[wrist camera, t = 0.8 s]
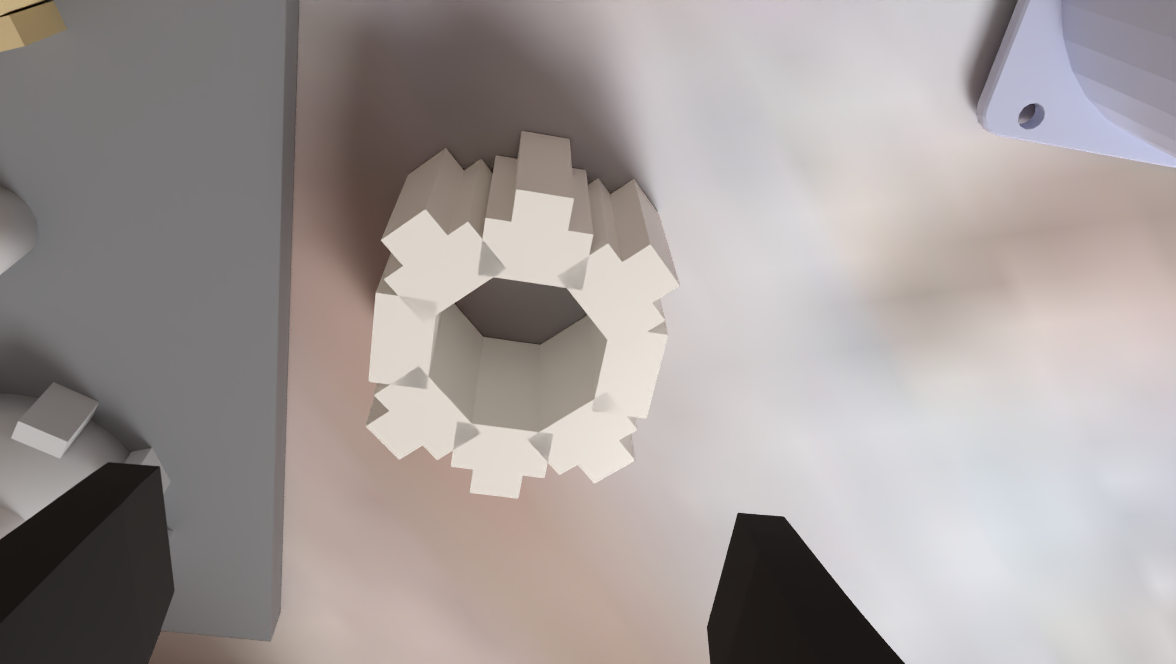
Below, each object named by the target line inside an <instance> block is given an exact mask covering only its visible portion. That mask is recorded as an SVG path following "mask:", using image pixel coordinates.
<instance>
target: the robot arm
mask: <svg viewBox="0 0 1176 664" xmlns="http://www.w3.org/2000/svg"><path fill="white" fill-rule="evenodd" d="M1029 104H1035V106H1036V108H1035V114H1034V115H1033V116H1032V118H1031V119H1030V120H1029V121H1027V122H1025V123H1023V124H1019V122H1018V118H1019V114H1020V112H1021V111H1022V109H1023V108H1024V107H1026V106H1027V105H1029ZM976 115H977V120H978V122H979V124H980V125H981V126H982V127H983V128H984V129H985V130H987V131H988V132H990V133H992V134H995V135H997V136H1002V137H1007V138H1013V139H1018V140H1024V141H1029V142H1035V143H1041V144H1046V145H1052V146H1057V147H1063V148H1068V149H1074V150H1080V151H1085V152H1091V153H1096V154H1102V155H1107V156H1113V157H1118V158H1124V159H1130V160H1135V161H1141V162H1146V163H1152V164H1157V165H1163V166H1168V167H1174V168H1176V0H1018V1H1017V4H1016V7H1015V9H1014V12H1013V14H1012V17H1011V19H1010V22H1009V25H1008V27H1007V30H1006V32H1005V35H1004V37H1003V40H1002V43H1001V45H1000V48H999V50H998V53H997V55H996V58H995V61H994V63H993V66H992V68H991V71H990V73H989V76H988V79H987V81H986V84H985V86H984V89H983V91H982V94H981V97H980V99H979V102H978V105H977V110H976ZM174 591H175V589H174V581H173V572H172V564H171V555H170V546H169V538H168V529H167V521H166V512H165V504H164V495H163V487H162V478H161V469H160V466H150V465H138V464H126V463H113V462H108V463H106V464H105V465H103V466H102V467H100V468H99V469H97V470H96V471H94V472H93V473H92V474H90V475H89V476H87V477H86V478H85V479H83V480H82V481H80V482H79V483H78V484H76V485H75V486H73V487H72V488H71V489H69V490H68V491H67V492H65V493H64V494H62V495H61V496H60V497H58V498H57V499H56V500H54V501H53V502H51V503H50V504H49V505H47V506H46V507H45V508H43V509H42V510H40V511H39V512H38V513H36V514H35V515H33V516H32V517H31V518H29V519H28V520H27V521H25V522H24V523H22V524H21V525H20V526H18V527H17V528H15V529H14V530H13V531H11V532H10V533H8V534H7V535H5V536H4V537H3V538H1V539H0V664H148V662H149V660H150V657H151V655H152V652H153V649H154V647H155V644H156V641H157V639H158V636H159V634H160V631H161V628H162V625H163V622H164V620H165V617H166V614H167V611H168V608H169V605H170V603H171V600H172V597H173V594H174ZM707 632H708V643H709V653H710V664H905V663H904V662H903V661H902V660H901V659H900V657H899V656H898V655H897V654H896V653H895V652H894V651H893V650H892V649H891V647H890V646H889V645H888V644H887V643H886V642H885V641H884V639H883V638H882V637H881V636H880V635H879V634H878V632H877V631H876V630H875V629H874V628H873V626H872V625H871V624H870V623H869V622H868V621H867V619H866V618H865V617H864V616H863V615H862V614H861V612H860V611H859V610H858V609H857V607H856V606H855V605H854V604H853V603H852V601H851V600H850V599H849V598H848V597H847V595H846V594H845V593H844V592H843V590H842V589H841V588H840V587H839V585H838V584H837V583H836V582H835V580H834V579H833V578H832V577H831V575H830V574H829V573H828V572H827V570H826V569H825V568H824V567H823V565H822V564H821V563H820V561H819V560H818V559H817V558H816V556H815V555H814V554H813V553H812V551H811V550H810V549H809V548H808V546H807V545H806V544H805V542H804V541H803V540H802V539H801V537H800V536H799V535H798V534H797V532H796V531H795V530H794V529H793V527H792V526H791V525H790V524H789V522H788V521H787V520H786V519H785V517H782V516H770V515H757V514H745V513H738V514H737V518H736V522H735V525H734V529H733V533H732V537H731V540H730V544H729V548H728V551H727V555H726V559H725V563H724V566H723V570H722V574H721V577H720V581H719V585H718V588H717V592H716V596H715V600H714V603H713V607H712V611H711V614H710V618H709V622H708V626H707Z"/></svg>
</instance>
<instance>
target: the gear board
mask: <svg viewBox="0 0 1176 664" xmlns="http://www.w3.org/2000/svg"><path fill="white" fill-rule="evenodd" d="M298 26H299V0H0V539H1V538H3V537H4V536H5V535H7V534H8V533H10V532H11V531H13V530H14V529H15V528H17V527H18V526H20V525H21V524H22V523H24V522H25V521H27V520H28V519H29V518H31V517H32V516H33V515H35V514H36V513H38V512H39V511H40V510H42V509H43V508H45V507H46V506H47V505H49V504H50V503H51V502H53V501H54V500H56V499H57V498H58V497H60V496H61V495H62V494H64V493H65V492H67V491H68V490H69V489H71V488H72V487H73V486H75V485H76V484H78V483H79V482H80V481H82V480H83V479H85V478H86V477H87V476H89V475H90V474H92V473H93V472H94V471H96V470H97V469H99V468H100V467H102V466H103V465H105V464H106V463H108V462H113V463H126V464H138V465H150V466H160V469H161V478H162V487H163V495H164V504H165V512H166V521H167V529H168V538H169V546H170V555H171V564H172V572H173V581H174V589H175V591H174V594H173V597H172V600H171V603H170V605H169V608H168V611H167V614H166V617H165V620H164V622H163V625H162V628H161V631H168V632H178V633H188V634H199V635H209V636H219V637H230V638H240V639H250V640H260V641H271V639H272V636H273V633H274V630H275V627H276V624H277V621H278V618H279V615H280V609H281V577H282V545H283V512H284V480H285V447H286V415H287V383H288V350H289V318H290V286H291V253H292V221H293V188H294V156H295V124H296V91H297V59H298Z"/></svg>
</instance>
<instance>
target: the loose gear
mask: <svg viewBox="0 0 1176 664" xmlns="http://www.w3.org/2000/svg"><path fill="white" fill-rule="evenodd" d="M381 241H382V242H383V244H384V245H385V246H386V247H387V248H388V249H389V250H390V252H391V254H390V256H389V259H388V262H387V264H386V267H385V270H384V272H383V275H382V277H381V280H380V283H379V285H378V288H377V291H376V295H375V308H374V320H373V333H372V345H371V357H370V370H369V382H375V383H377V387H376V390H375V393H374V396H375V398H374V401H373V404H372V407H371V411H370V414H369V417H368V420H367V423H366V427H367V428H368V429H369V430H370V431H371V432H372V433H373V434H374V435H375V436H376V437H377V438H378V439H379V440H380V441H381V442H382V443H383V444H384V445H385V446H386V447H387V448H388V449H389V450H390V451H391V452H392V453H393V454H394V455H395V456H396V457H397V458H398V459H399V460H400V459H401V458H403V457H405V456H406V455H408V454H409V453H411V452H413V451H414V450H416V449H417V448H419V447H421V446H422V445H423V446H424V447H425V448H426V449H427V450H428V451H429V452H430V453H431V454H432V455H433V456H434V457H435V458H436V459H437V460H438V459H440V458H441V457H443V456H445V455H446V454H448V453H450V452H451V451H453V455H452V462H451V467H458V468H466V469H472V478H471V486H470V493H476V494H484V495H493V496H501V497H509V498H518V497H519V492H520V486H521V481H522V476H531V477H539V478H545V473H546V468H547V463H549V464H550V465H551V466H552V468H553V469H554V470H555V471H556V472H557V473H558V474H559V475H561V474H562V473H564V472H566V471H567V470H569V469H571V468H573V467H574V466H576V465H578V466H579V467H580V468H581V469H582V470H583V471H584V473H585V474H586V475H587V476H588V477H589V478H590V479H591V480H592V482H593V483H594V484H595V483H596V482H598V481H600V480H602V479H603V478H605V477H607V476H609V475H610V474H612V473H614V472H616V471H617V470H619V469H621V468H623V467H624V466H626V465H628V464H630V463H631V462H633V461H635V455H634V448H633V441H632V434H631V433H633V432H635V431H636V430H638V428H637V422H636V417H639V418H646V419H647V415H648V411H649V407H650V404H651V400H652V396H653V392H654V388H655V384H656V380H657V376H658V373H659V369H660V365H661V361H662V357H663V353H664V349H665V345H666V341H667V338H668V332H667V328H666V324H665V317H664V313H663V309H662V305H661V301H660V298H661V297H663V296H664V295H666V294H668V293H669V292H671V291H672V290H674V289H676V288H677V287H679V286H680V284H679V280H678V277H677V274H676V270H675V267H674V263H673V260H672V257H671V253H670V250H669V246H668V243H667V240H666V236H665V233H664V229H663V226H662V223H661V219H660V216H659V214H658V213H657V211H656V210H655V208H654V207H653V205H652V204H651V203H650V201H649V200H648V198H647V197H646V195H645V194H644V193H643V191H642V190H641V188H640V187H639V185H638V184H637V182H636V181H635V180H634V179H633V180H631V181H630V182H628V183H627V184H625V185H624V186H622V187H621V188H619V189H618V190H616V191H615V192H613V193H612V194H610V193H609V192H608V190H607V189H606V188H605V186H604V185H603V184H602V182H601V181H600V179H599V178H597V179H596V180H594V181H593V182H591V183H590V184H588V183H587V175H586V170H582V169H576V168H572V163H571V149H570V139H567V138H561V137H555V136H549V135H543V134H537V133H532V132H526V131H521V138H520V144H519V151H518V157H517V159H515V158H509V157H503V156H497V155H496V156H495V163H494V169H493V173H492V172H491V171H490V169H489V168H488V167H487V165H486V164H485V163H484V162H483V160H482V159H480V160H478V161H477V162H476V163H474V164H473V165H471V166H470V167H468V168H467V169H466V170H463V169H462V168H461V166H460V165H459V164H458V163H457V161H456V160H455V159H454V157H453V156H452V155H451V154H450V152H449V151H448V150H447V149H446V148H445V149H443V150H442V151H440V152H439V153H438V154H436V155H435V156H433V157H432V158H431V159H429V160H428V161H426V162H425V163H424V164H422V165H421V166H420V167H418V168H417V169H415V170H414V171H413V172H411V173H410V174H408V176H407V178H406V181H405V183H404V186H403V188H402V190H401V193H400V195H399V198H398V200H397V202H396V205H395V207H394V210H393V212H392V215H391V217H390V219H389V222H388V224H387V227H386V229H385V231H384V234H383V236H382V239H381ZM493 277H496V278H503V279H510V280H516V281H523V282H530V283H536V284H543V285H550V286H557V287H563V288H567V289H568V290H569V292H570V293H571V294H572V296H573V297H574V298H575V299H576V301H577V302H578V303H579V304H580V306H581V307H582V308H583V310H584V311H585V312H586V313H587V316H585V317H584V318H582V319H581V320H579V321H577V322H576V323H574V324H573V325H571V326H569V327H568V328H566V329H565V330H563V331H561V332H560V333H558V334H557V335H555V336H554V337H552V338H550V339H549V340H547V341H546V342H544V343H542V344H541V345H538V344H531V343H523V342H516V341H509V340H502V339H495V338H488V337H483V336H482V335H481V334H480V333H479V331H478V330H477V329H476V328H475V327H474V326H473V325H472V323H471V322H470V321H469V320H468V319H467V318H466V316H465V315H464V314H463V313H462V312H461V311H460V310H459V308H458V307H457V306H456V305H455V304H454V303H455V302H457V301H458V300H460V299H461V298H463V297H464V296H466V295H467V294H469V293H470V292H472V291H473V290H475V289H476V288H478V287H479V286H481V285H482V284H484V283H485V282H487V281H488V280H490V279H491V278H493Z"/></svg>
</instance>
